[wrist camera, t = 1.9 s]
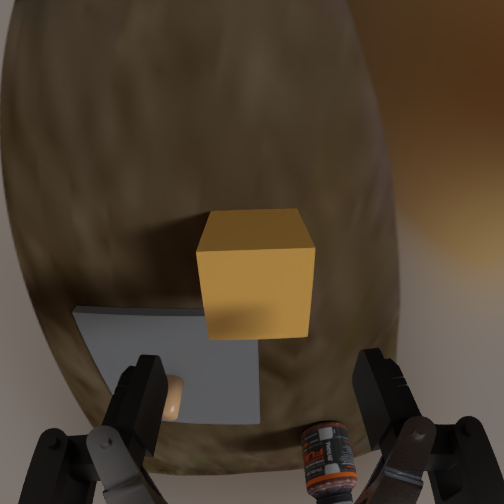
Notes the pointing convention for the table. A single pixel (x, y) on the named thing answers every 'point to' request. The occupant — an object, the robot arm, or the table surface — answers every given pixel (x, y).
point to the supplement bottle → (328, 463)
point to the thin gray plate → (177, 360)
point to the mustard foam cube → (256, 274)
